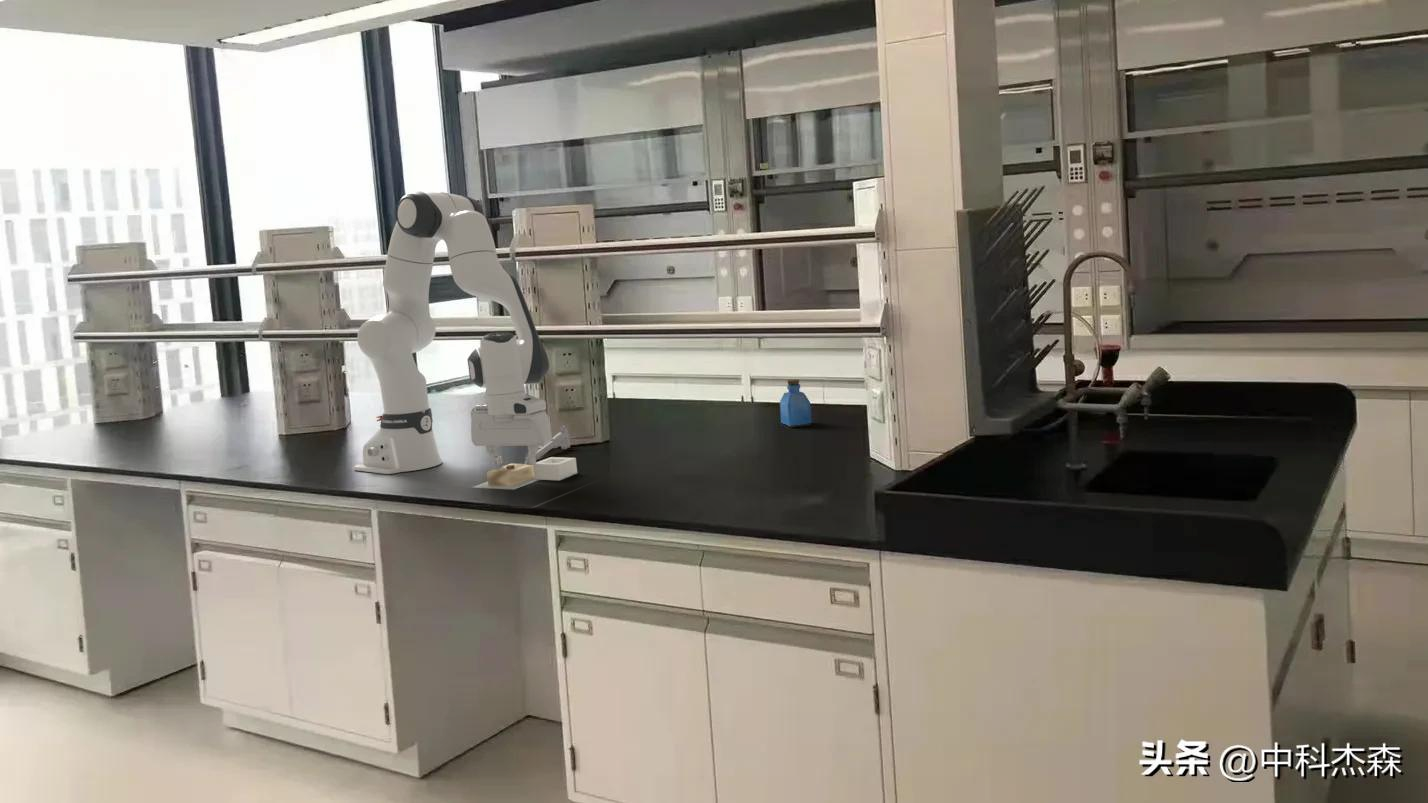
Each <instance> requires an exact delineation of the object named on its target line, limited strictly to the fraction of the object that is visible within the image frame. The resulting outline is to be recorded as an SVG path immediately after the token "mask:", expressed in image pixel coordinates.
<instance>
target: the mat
mask: <svg viewBox="0 0 1428 803" xmlns="http://www.w3.org/2000/svg"><path fill="white" fill-rule="evenodd" d="M537 481H541V480H540V479H534V478H531V479H529V480H526V481H524V482H521V483H518V484H516V485H513V486H496V485H488V480H487V481H485V482H483V483H482V482H481V483H480V484H476V485H474V486H471V489H472V488H473V489H474V488H475V489H477V488H478V489H494V490H517V489H518V488H521V487H524V486H527V485H529V484H532V483H535V482H537Z"/></svg>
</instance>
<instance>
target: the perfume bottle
mask: <svg viewBox="0 0 1428 803" xmlns="http://www.w3.org/2000/svg"><path fill="white" fill-rule="evenodd" d="M786 389H787V390H788V392H784V393H783V394H782V397H781V398H780V399H779V400H780V401H779V410H780V411H779V412H780V424H781V423H783V424H786V425H788V426H793V425H801V424H807V423H812V411H811V402H810V400H809V398H808V396H806V393H805V392H802V391H800V389H801V384H800V379H788V380H787V385H786Z"/></svg>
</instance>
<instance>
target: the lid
mask: <svg viewBox="0 0 1428 803" xmlns="http://www.w3.org/2000/svg"><path fill="white" fill-rule="evenodd" d="M486 477H487V481H488V485H496V486H513V485H516V484H518V483H521V482H524V481H526V480H529V479H531V478H534V470H533V465H527V464H526V463H509V464H506V465H503V466H499V467H497V468H495V469H491V470H489V471H486Z"/></svg>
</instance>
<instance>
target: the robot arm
mask: <svg viewBox="0 0 1428 803" xmlns="http://www.w3.org/2000/svg"><path fill="white" fill-rule="evenodd" d="M395 214H396V215H395V216H396V223H395V224H394V227H393V230H392V233H391V236H390V240H389V245H388V249H387V255H386V261H385V267H384V274H383V278H382V279H383V280H382V287H383V289H384V290H385V291H386V294H387V299H388V311H387V313H381V314H377V315H374V316H373V317H371V318H369V319H367V320H366V321H365V322H363V323H362V324H361V325H360V326H359V328H358V332H357V335H356V336H357V337H356V340H357V345H358V347H359V349H360V351H361V352H362V353H363V354H364V355H365V356H366V357H367V358H368V359H369V360H370V362H371V364H372V366H373V369H374V370H375V372H376V376H377V380H378V382H379V386H380V393H381V399H382V400H381V401H382V407H383V413H382V415H378V416H376V417H375V419H376V420H375V421H376V422H380V426H379V427H380V428H379V429H378V430H377V431H376V432H375V433H374V434H373V435H372V436H371V438H369V439H368V440H367V441H366V443H365V444H363V449H362V462H360V463H358V464H356V465H354V466H353V468H354V471H359V472H366V473H374V474H384V475H391V474H398V473H405V472H412V471H420V470H425V469H429V468H433V467H436V466H439V465H441V464H442V463H443V460H442V458H441V455H440V452H439V449H438V446H437V442H436V438H435V434H434V429H433V422H434V421H433V412H432V408H430V404H429V397H428V396H429V394H428V387H427V386H428V385H427V380H426V376H425V375H424V374H423V373H421V372H420V370H419V368H418V366H417V364H416V362H415V359H414V356H413V354H415V353H418V352H421V351H422V350H423V349H425V348H426V347H427V346H429V345H431V343H432V342H433V340H434V338H435V337H436V332H437V331H436V330H437V329H436V325H435V322H434V320H433V318H432V317H431V312H430V311H431V310H430V298H429V295H430V285H431V284H430V283H431V278H432V273H433V268H434V267H433V266H434V260H435V252H436V247H437V245H438V243H439V242H440V241H441V240H442V241H444V243H445V246H446V249H447V255H448V262H449V267H450V272H451V274H452V278H453V281H454V284H456V285H457V287H458V288H460V289H461V290H462V291H463V292H464V293H467V294H468V295H470V296H474V297H475V298H476V297H477V298H480V299H486V300H489V301H493V302H495V303H497V304H500V305H502V306H503V307H504V308H505V309H506V311H507V312H508V314H509V317H510V319H511V322H512V325H513V327H514V329H515V333H516V335H517V338H518V340H519V341H517V338H516V336H515V335H514V333H511V332H507V331H506V332H505V331H497V332H491V333H487V334H485V335H484V336H482V338H481V339H480V340H481V341H480V347H478V348H475V349H474V350H472V352H471V353H470V355H469V356H468V358H467V367H468V375H469V380H470V382H472V383H473V384H474V385H476V387H479V388H484V389H485V398H486V399H485V400H486V404H483V405H474V407H473V408H472V409H471V411H470V418H471V419H470V420H471V421H470V435H471V437H470V438H471V442H472V443H473V446H476V447H483V446H484V447H485V448H486V452H487V453H488V455H489V456H490V458H491V462H492V463H491V464H492V465H493V466H500V465H502V464H503V460H502V458H503V457H502V456H501V455H499V454H498V452H497V450H496V449H497V447H505V446H506V447H517V446H518V447H519V446H522V447H523V446H524V447H525V446H527V449H528V451H530V452H529V454H528V456H526V457H525V462H526V463H525V464H527V465H534V464H536V462H537V460H536V458H535V456H536V454H537V452H538V450H539V449H540V448H539V447H540V446H541V447H543V446H544V445H546V444H548V443H549V442H550V441H551V439H552V438H553V437H552V436H553V434H552V427H551V422H550V418H549V415H548V413H547V412H546V411H545V410H546V408H547V403H546V401H545V400H544V399H541V398H539V397H536V396H532V395H530V394H528V393H526V387H525V384H527V385H528V384H529V385H530V384H539V383H540V382H541V381H542V380H543V379H544V378H545V377H546V375H547V374H548V373H549V370H550V361H549V357H548V353H547V351H546V348H545V347H544V344H543V343H542V341H541V338H540V336H539V334H538V331H537V328H536V325H535V323H534V320H533V318H532V314H531V313H530V310H529V307H528V305H527V302H526V299H525V296H524V294H523V291H522V288H521V287H520V285H519V283H518V281H517V278H516V277H514V276H513V275H510V274H508V273H507V271H506V270H505V269H504V268H503V267H502V265H501V263H500V260H499V258H498V254H497V249H496V244H495V240H494V237H493V234H492V231H491V229H490V225H489V223H488V221H487V218H486V217H485V214H484V210H483V207H482V205H481V204H480V203H479V202H478V201H477V200H476V199H475V198H472V197H469V196H468V195H464V194H463V195H458V194H456V193H455V194H454V193H450V192H444V191H443V192H442V191H441V192H424V191H413V192H408V193H405V194H404V195H402V197H401V198H400V200H399V202H398V204H397V206H396V213H395Z"/></svg>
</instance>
